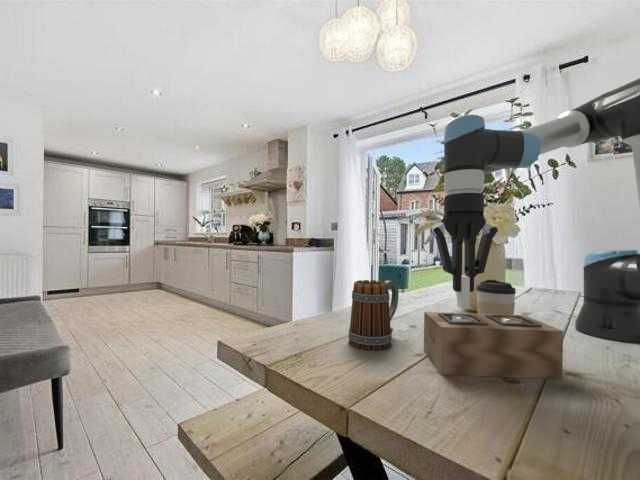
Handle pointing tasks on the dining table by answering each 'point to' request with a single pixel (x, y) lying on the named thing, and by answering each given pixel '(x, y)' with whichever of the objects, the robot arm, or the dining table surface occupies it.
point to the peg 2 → (511, 320)
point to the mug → (372, 314)
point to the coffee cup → (495, 297)
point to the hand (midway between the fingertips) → (463, 307)
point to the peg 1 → (461, 318)
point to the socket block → (493, 346)
